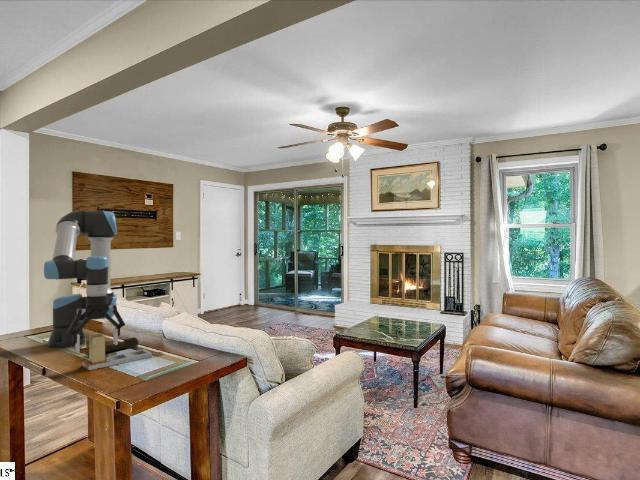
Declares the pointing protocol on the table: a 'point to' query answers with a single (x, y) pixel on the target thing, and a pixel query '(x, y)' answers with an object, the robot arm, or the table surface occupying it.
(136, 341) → the hand tool
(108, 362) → the triple square frame
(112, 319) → the robot arm
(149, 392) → the table surface
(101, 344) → the brass post
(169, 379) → the table surface
